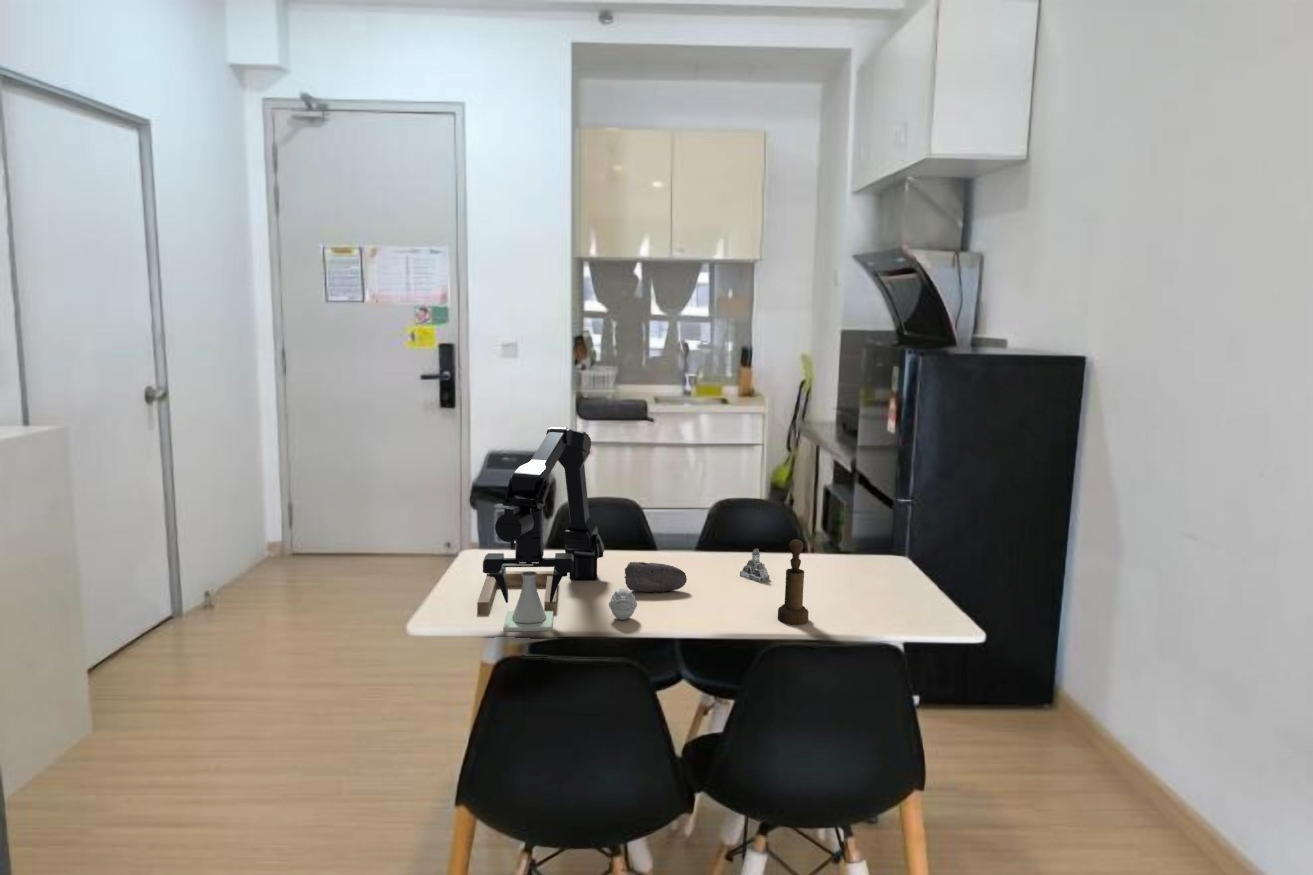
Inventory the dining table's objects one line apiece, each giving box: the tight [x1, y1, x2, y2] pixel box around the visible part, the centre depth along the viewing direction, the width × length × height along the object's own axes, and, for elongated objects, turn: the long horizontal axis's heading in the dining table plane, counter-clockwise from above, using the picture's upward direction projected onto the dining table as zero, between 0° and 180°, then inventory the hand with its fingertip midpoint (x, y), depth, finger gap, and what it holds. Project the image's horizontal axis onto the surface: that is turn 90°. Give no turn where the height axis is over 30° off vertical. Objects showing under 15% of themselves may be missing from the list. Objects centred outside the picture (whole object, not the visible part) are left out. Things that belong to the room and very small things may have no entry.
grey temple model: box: [739, 548, 770, 583], centre depth 216 cm, size 9×9×8 cm
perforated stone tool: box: [623, 561, 688, 593], centre depth 202 cm, size 15×5×7 cm, turn 92°
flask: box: [512, 570, 546, 624], centre depth 179 cm, size 7×7×10 cm
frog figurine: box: [608, 588, 638, 621], centre depth 182 cm, size 6×7×7 cm
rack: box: [476, 570, 559, 614], centre depth 195 cm, size 17×21×3 cm
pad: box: [502, 610, 554, 632], centre depth 179 cm, size 10×10×1 cm
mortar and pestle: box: [777, 539, 809, 626], centre depth 183 cm, size 7×6×18 cm
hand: (529, 602), depth 179 cm, fingers open, 9 cm apart
